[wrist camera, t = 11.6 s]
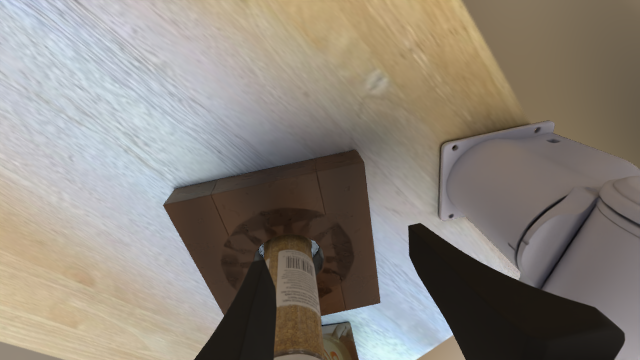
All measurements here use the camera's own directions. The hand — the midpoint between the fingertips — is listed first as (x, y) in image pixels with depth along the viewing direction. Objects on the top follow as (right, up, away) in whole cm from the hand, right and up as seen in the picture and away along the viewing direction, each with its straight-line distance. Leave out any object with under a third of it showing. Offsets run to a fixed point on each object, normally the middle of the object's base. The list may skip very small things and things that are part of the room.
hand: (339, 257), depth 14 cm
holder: (-4, -2, +12) cm, 13 cm away
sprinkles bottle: (-4, -2, +13) cm, 13 cm away
